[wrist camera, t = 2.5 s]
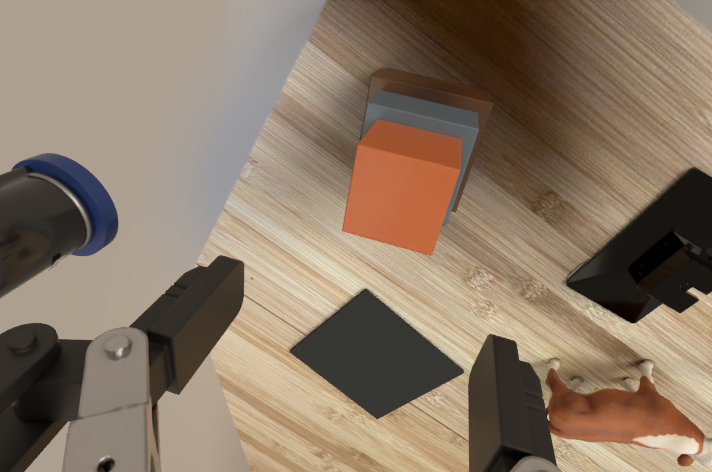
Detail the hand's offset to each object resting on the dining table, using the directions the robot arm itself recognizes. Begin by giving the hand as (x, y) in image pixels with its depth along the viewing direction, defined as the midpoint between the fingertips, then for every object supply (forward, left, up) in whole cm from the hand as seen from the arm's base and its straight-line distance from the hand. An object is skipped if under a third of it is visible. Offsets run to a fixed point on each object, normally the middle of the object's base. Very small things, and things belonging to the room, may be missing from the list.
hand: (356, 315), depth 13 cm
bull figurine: (+29, -4, -22) cm, 37 cm away
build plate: (+20, +6, -22) cm, 30 cm away
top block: (0, 0, -14) cm, 14 cm away
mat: (+14, -22, -22) cm, 34 cm away
